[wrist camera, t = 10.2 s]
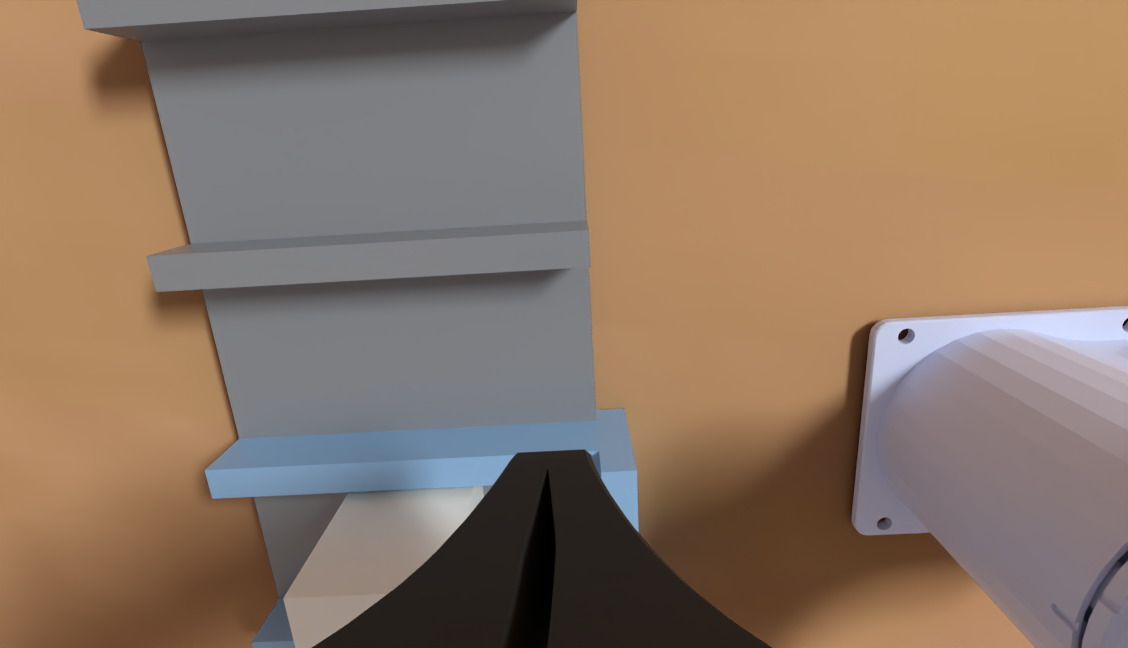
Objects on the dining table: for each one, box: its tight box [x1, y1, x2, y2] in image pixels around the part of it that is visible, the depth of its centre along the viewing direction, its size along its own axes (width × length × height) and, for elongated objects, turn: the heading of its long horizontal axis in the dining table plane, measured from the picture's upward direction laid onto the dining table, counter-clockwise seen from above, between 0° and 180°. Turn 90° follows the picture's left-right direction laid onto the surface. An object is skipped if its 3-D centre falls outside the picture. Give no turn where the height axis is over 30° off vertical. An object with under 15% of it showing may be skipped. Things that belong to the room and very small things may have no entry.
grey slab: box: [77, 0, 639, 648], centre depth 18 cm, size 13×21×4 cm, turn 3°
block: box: [283, 486, 484, 648], centre depth 18 cm, size 4×4×6 cm
